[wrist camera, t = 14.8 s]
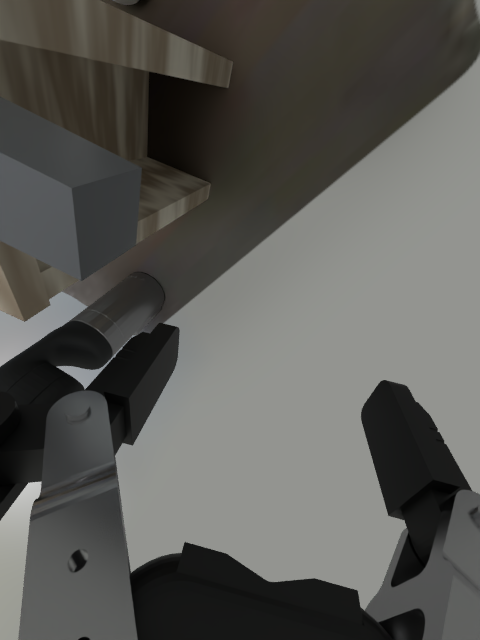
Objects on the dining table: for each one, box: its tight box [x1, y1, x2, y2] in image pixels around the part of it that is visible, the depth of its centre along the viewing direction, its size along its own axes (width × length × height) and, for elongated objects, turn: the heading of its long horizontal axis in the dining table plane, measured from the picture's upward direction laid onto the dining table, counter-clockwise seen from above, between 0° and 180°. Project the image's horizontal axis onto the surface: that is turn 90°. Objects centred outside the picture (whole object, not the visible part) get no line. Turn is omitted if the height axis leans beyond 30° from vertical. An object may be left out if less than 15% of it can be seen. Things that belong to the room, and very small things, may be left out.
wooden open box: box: [0, 0, 233, 322], centre depth 23 cm, size 13×16×34 cm
